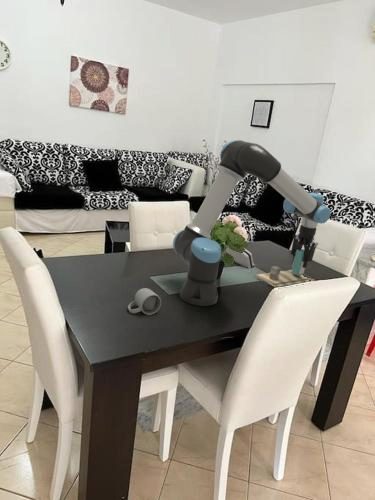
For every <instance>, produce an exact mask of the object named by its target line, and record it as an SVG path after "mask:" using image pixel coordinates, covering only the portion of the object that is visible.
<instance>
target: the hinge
mask: <svg viewBox="0 0 375 500" xmlns="http://www.w3.org/2000/svg"><path fill="white" fill-rule="evenodd" d="M226 248H227V247H226ZM226 248H225V253H226V252H227V253H229V254H231V255H232V256H233V257H234V261H235V262H234V261H233V262H234V263H237V264H238V265H241V266H243V267H245V268H247V267H248V268H247V269H251V268H252V267H253V266H255V267H256V264H255V263H254V260H253V258H254V257H253V254H252V252H251V251H249V250H247V249H246V248H244V249H245V250H244V252H243V253H239V252H236V251H233V250H231V249H229V248H227V249H226Z"/></svg>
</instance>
